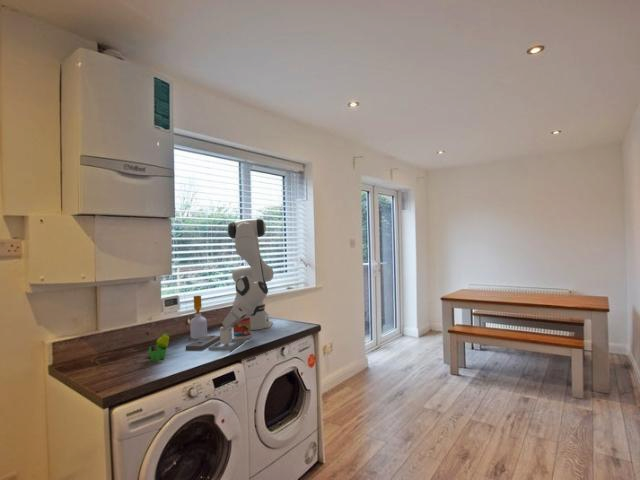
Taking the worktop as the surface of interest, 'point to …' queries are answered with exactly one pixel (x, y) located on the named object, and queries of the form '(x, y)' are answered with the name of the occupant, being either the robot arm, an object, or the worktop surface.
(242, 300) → the robot arm
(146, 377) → the worktop surface
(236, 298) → the fruit juice
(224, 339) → the charger
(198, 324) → the soap bottle
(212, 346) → the tray
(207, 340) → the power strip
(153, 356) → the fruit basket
